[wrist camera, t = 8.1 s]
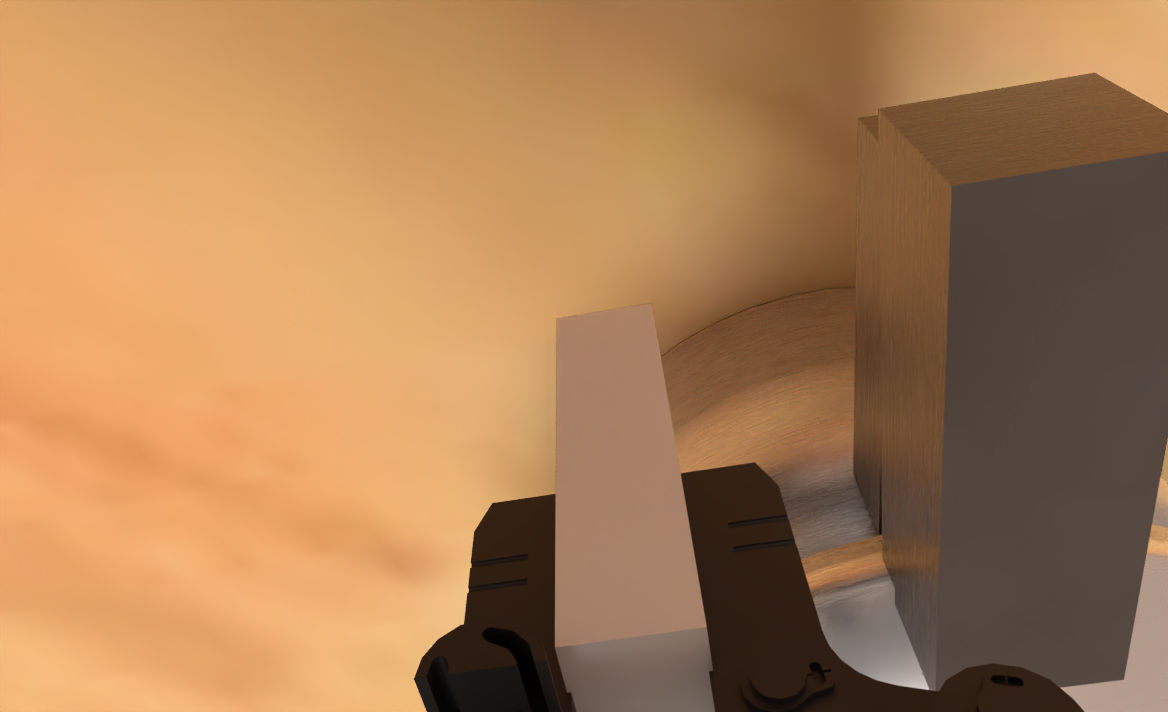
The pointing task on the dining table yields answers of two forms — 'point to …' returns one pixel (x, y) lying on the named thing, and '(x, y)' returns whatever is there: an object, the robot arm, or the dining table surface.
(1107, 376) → the lid
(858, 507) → the pot
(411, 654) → the dining table surface
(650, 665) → the robot arm
